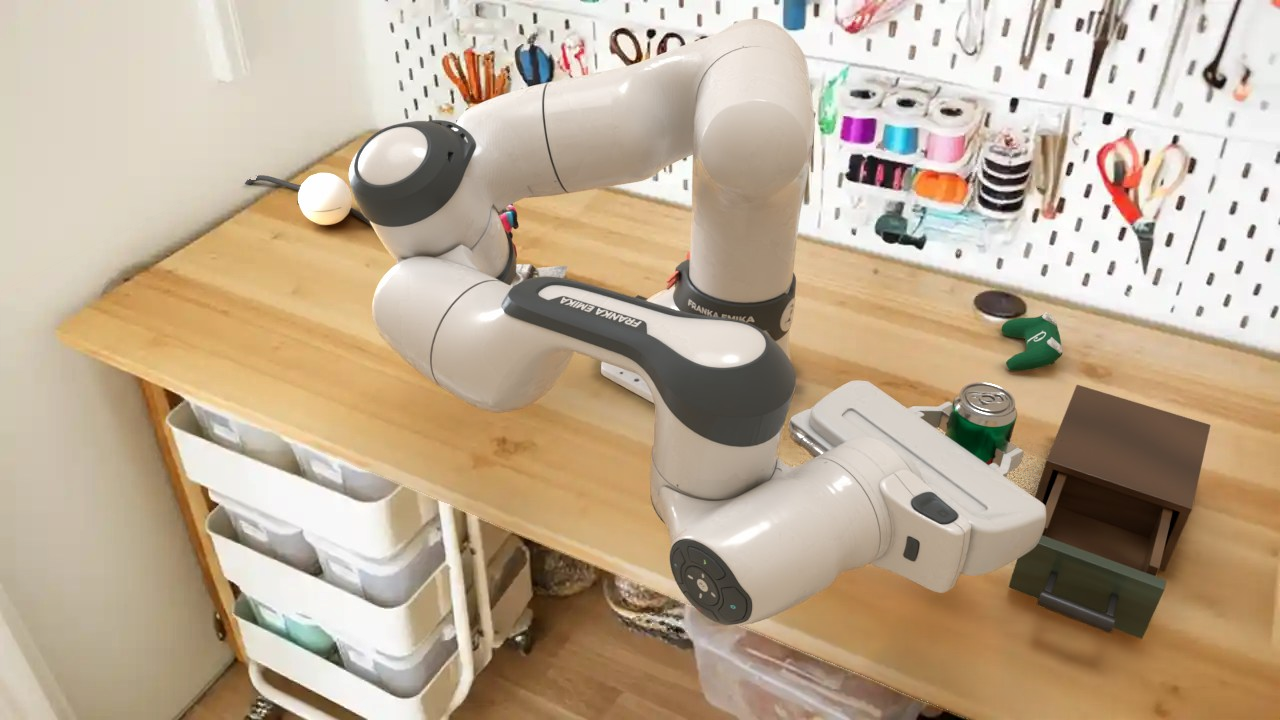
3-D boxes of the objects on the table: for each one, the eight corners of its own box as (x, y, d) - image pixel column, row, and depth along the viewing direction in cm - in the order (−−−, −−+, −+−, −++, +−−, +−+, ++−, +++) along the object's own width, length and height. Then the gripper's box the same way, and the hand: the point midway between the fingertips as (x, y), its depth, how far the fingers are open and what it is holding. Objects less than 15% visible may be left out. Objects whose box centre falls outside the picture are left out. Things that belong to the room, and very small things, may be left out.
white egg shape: (323, 206, 153) (314, 160, 149) (366, 215, 151) (358, 169, 147) (279, 237, 146) (269, 189, 142) (324, 247, 144) (314, 199, 139)
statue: (470, 315, 133) (443, 210, 124) (490, 276, 140) (466, 174, 131) (553, 315, 130) (532, 208, 122) (569, 275, 138) (550, 171, 129)
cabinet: (1164, 572, 97) (1192, 509, 92) (1026, 522, 102) (1046, 460, 97) (1184, 486, 106) (1210, 424, 102) (1057, 444, 112) (1076, 384, 107)
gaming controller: (1022, 388, 122) (1069, 363, 119) (1003, 366, 121) (1051, 341, 118) (1015, 344, 130) (1060, 320, 127) (998, 323, 129) (1042, 298, 125)
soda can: (921, 488, 93) (946, 380, 86) (977, 485, 93) (1006, 377, 86) (939, 528, 89) (967, 419, 82) (997, 525, 89) (1030, 416, 82)
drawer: (1134, 673, 87) (1156, 622, 83) (996, 617, 91) (1012, 567, 88) (1164, 547, 98) (1185, 498, 95) (1040, 504, 103) (1056, 455, 99)
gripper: (772, 454, 89) (888, 398, 95) (958, 609, 75) (1078, 531, 82) (779, 395, 85) (898, 341, 92) (976, 547, 72) (1100, 471, 78)
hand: (985, 432), depth 87 cm, fingers closed on soda can, 5 cm apart
